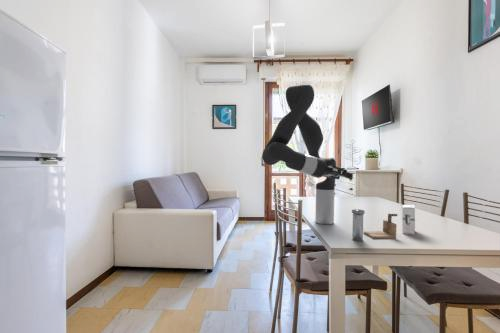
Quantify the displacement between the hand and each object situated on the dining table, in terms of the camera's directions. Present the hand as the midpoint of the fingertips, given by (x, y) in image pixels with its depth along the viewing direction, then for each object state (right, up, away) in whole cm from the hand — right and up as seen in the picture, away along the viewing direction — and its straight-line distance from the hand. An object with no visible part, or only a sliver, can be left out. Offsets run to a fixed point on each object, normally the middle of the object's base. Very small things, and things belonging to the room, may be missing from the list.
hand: (345, 176), depth 117 cm
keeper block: (+17, -25, +5) cm, 31 cm away
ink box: (+33, -26, +12) cm, 43 cm away
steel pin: (+5, -26, -1) cm, 26 cm away
